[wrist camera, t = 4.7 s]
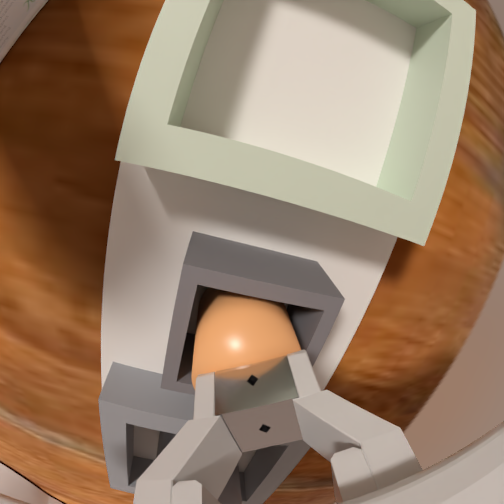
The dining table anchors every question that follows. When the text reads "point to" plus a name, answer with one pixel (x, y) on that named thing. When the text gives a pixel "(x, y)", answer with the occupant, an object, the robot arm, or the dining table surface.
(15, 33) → the syrup box
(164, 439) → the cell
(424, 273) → the dining table surface
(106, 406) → the grey compartment tray
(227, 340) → the brown egg
